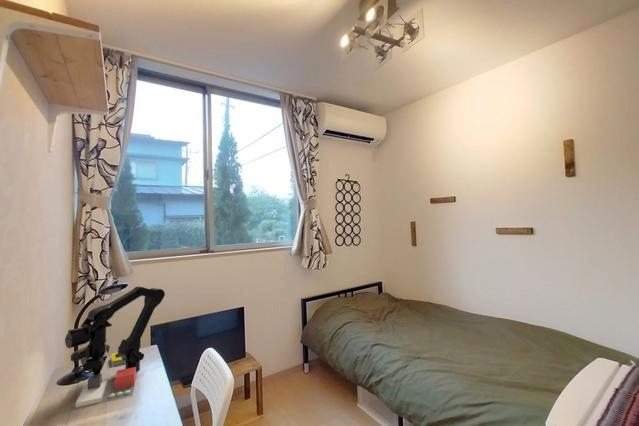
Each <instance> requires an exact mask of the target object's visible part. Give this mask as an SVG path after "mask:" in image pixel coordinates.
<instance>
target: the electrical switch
mask: <svg viewBox="0 0 639 426" xmlns="http://www.w3.org/2000/svg"><path fill="white" fill-rule="evenodd" d="M87 359H91V358H87ZM87 359H86V357H85V358H83V359H81V360H80V363H81V366H82V367H83V364H84V362H85V361H86V360H87ZM83 371H84V372H85V371H91V372H90V373H92V372H93V370H92V369H90V370H83Z"/></svg>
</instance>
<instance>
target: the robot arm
mask: <svg viewBox="0 0 639 426" xmlns="http://www.w3.org/2000/svg"><path fill="white" fill-rule="evenodd" d="M165 296H166V293H165V291H164V290H163V289H161V288H155V287H152V288H146V287H144V286H135V287H134V288H132V289H131V290H129V291H128V292H126V293H124V294H123V295H121V296H119V297H117V298H116V299H114V300H113V301H111V302H109V303H106V304H103V305H99V306H97V307H94V308H93V309H91V310H89V312H88V314H87V317H86V318H85V319H84V321H83V322H82V323H81V325H80V327H78V328H73V329H68V331H67V333H66V334H65V338H64V345H65V346H66V348H67V349H72V348H75V347H78V346H81V345H85V344H87V343H88V344H87V345H86V346H85V347H82V348H80V349H77V350H75V351H73V352H72V353H71V354H70V361H72V362H73V363H78V361H81V359H83V358H85V357H86V359H87V358H91V359H87V360H86V361H85V362H84V364H83V366H82V369H81V370H82V371H84V370H90V369H92V370H93V374H92V375H96V374H101V371H102V370H103V368H104V365H105V363H106V360H107V358H108V356H107V355H106V353H108V354H109V353H110V351H111V346H110V345H109V344H107V342H108V339H107V328H109V327H112V326H113V324H112V323H110V322H109V320H110V319H112V317H113V316H114V314H116V312H118V311H119V310H121V309H122V308H124V307H125V306H127V305H129V304H130V303H132V302H133V301H136V300H137V299H139V298H140V297H144V301H143V302H144V303H143V304H144V305H143V308H142V309H141V311H140V314H139V315H138V318H137V320H136V322H135V324H134V326H133V327H132V330H131V332H130V334H129V336H128V337H127V338H126V339H124V338H123V339H122V340H121V342H120V345H118V347H117V349H118V350H117V352H118V355H119V356H120V357H122V359H123V360H126V361H125V367H124V369H128V368H133V367H136V373H138V372H139V371H140V370H141V369H140V368H141V361H142V360H144V357H145V354H144V353H142V352H141V351H140V349H141V339H142V336H143V335H144V332H145V330H146V328H147V326H148V324H149V322H150V319H151V317H152V316H153V313H154V310H155V309H156V308H157V307H158V306H159V305H160V304H161V303H162V301H163V300H164V298H165Z"/></svg>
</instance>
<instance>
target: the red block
mask: <svg viewBox="0 0 639 426" xmlns="http://www.w3.org/2000/svg"><path fill="white" fill-rule="evenodd" d="M135 379H136V380H137V372H136V367H133V368H128V369H125V368H123V369H119V370H117V371H116V373H115V376H114V381H115V390H116V389H120V388H125V387H130V386H134V387H135V385H136V380H135ZM134 384H135V385H134Z"/></svg>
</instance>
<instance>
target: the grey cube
mask: <svg viewBox="0 0 639 426" xmlns="http://www.w3.org/2000/svg"><path fill="white" fill-rule="evenodd" d="M102 380H103V373H101V372H100V374H96V375H94V374H92V375H89V377H88V379H87V385H88V389H92V388H97V387H100V385H101V383H102V382H103V381H102Z"/></svg>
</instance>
